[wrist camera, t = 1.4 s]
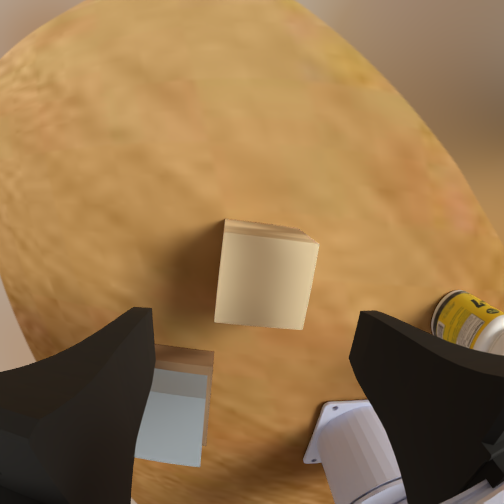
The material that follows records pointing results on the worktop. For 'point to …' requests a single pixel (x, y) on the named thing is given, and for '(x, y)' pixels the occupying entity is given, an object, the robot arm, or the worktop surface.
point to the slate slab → (173, 419)
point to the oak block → (264, 275)
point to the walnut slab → (188, 369)
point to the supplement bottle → (469, 323)
